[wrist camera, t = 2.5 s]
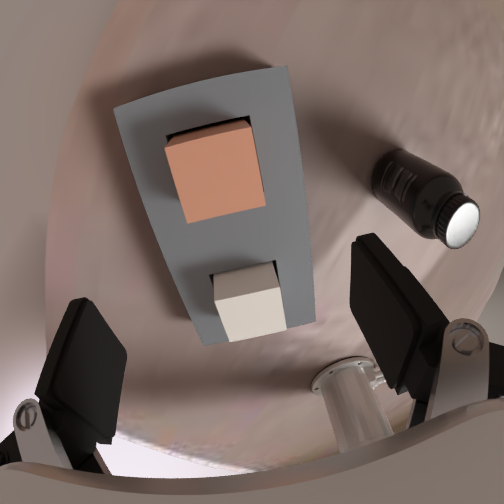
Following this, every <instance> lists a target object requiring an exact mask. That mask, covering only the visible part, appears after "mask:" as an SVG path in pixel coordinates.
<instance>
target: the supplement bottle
mask: <svg viewBox="0 0 504 504" xmlns="http://www.w3.org/2000/svg"><path fill="white" fill-rule="evenodd" d="M372 188H373V191H374V194H375V196H376V197H377V199H378V200H379V201H380V202H381V203H383V204H384V205H385V206H386V207H387V208H388V209H390V210H391V211H392V212H393V213H394V214H395V215H397V216H398V217H399V218H400V219H401V220H402V221H404V222H405V223H406V224H407V225H408V226H409V227H410V228H411V229H413V230H414V231H415V232H416V233H417V234H418V235H420V236H421V237H423V238H426V239H438V240H440V241H441V242H443V243H444V244H445V245H446V246H447V247H449V248H450V249H458V248H461V247H462V246H464V245H465V244H467V243H468V241H469V240H471V238H472V237H473V235H474V233H475V232H476V229H477V227H478V224H479V219H480V210H479V206H478V205H477V203H476V202H475V201H474V200H472V199H471V198H469V197H468V196H467V195H466V194H465V193H463V189H462V186H461V184H460V183H459V181H458V180H457V179H456V178H455V177H454V176H453V175H451V174H450V173H448V172H446V171H444V170H443V169H441V168H439V167H437V166H435V165H433V164H431V163H429V162H427V161H425V160H423V159H421V158H419V157H417V156H415V155H413V154H411V153H409V152H407V151H403V150H394V151H391V152H388V153H387V154H385V155H384V156H383V157H382V158H381V159H380V160H379V161H378V163H377V164H376V166H375V168H374V171H373V174H372Z"/></svg>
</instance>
